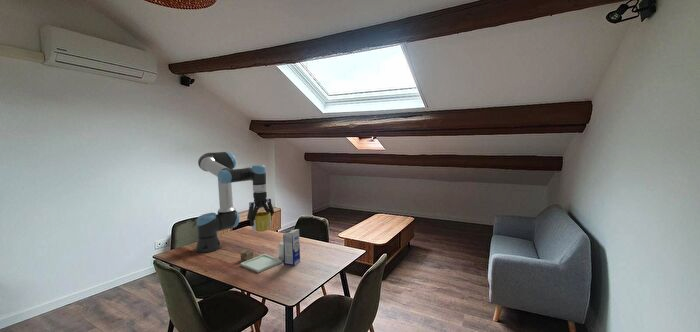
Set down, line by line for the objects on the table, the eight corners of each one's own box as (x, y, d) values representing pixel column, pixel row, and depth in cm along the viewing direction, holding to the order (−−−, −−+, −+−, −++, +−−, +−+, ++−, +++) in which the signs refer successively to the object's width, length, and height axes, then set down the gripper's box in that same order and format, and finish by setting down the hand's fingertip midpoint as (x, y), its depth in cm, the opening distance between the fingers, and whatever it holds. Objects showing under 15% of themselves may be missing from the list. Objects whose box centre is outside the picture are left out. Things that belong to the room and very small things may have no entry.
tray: (240, 265, 168) (240, 263, 168) (264, 256, 181) (264, 253, 181) (258, 272, 158) (258, 270, 158) (282, 262, 172) (282, 259, 171)
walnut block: (240, 260, 175) (240, 252, 175) (246, 257, 180) (246, 249, 180) (247, 261, 174) (247, 253, 173) (253, 258, 178) (252, 250, 178)
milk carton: (294, 266, 166) (292, 232, 164) (283, 264, 168) (282, 231, 166) (300, 261, 172) (299, 228, 171) (290, 259, 175) (289, 227, 173)
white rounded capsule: (276, 258, 178) (275, 243, 177) (285, 254, 184) (284, 240, 183) (284, 260, 174) (283, 246, 173) (292, 256, 179) (292, 242, 179)
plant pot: (266, 233, 165) (265, 216, 164) (249, 232, 167) (248, 215, 166) (274, 227, 175) (273, 211, 175) (258, 227, 177) (257, 211, 176)
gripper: (246, 195, 158) (249, 235, 160) (279, 189, 176) (281, 224, 178) (238, 194, 162) (240, 232, 164) (271, 188, 181) (272, 223, 183)
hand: (261, 228), depth 171 cm, fingers closed on plant pot, 10 cm apart
